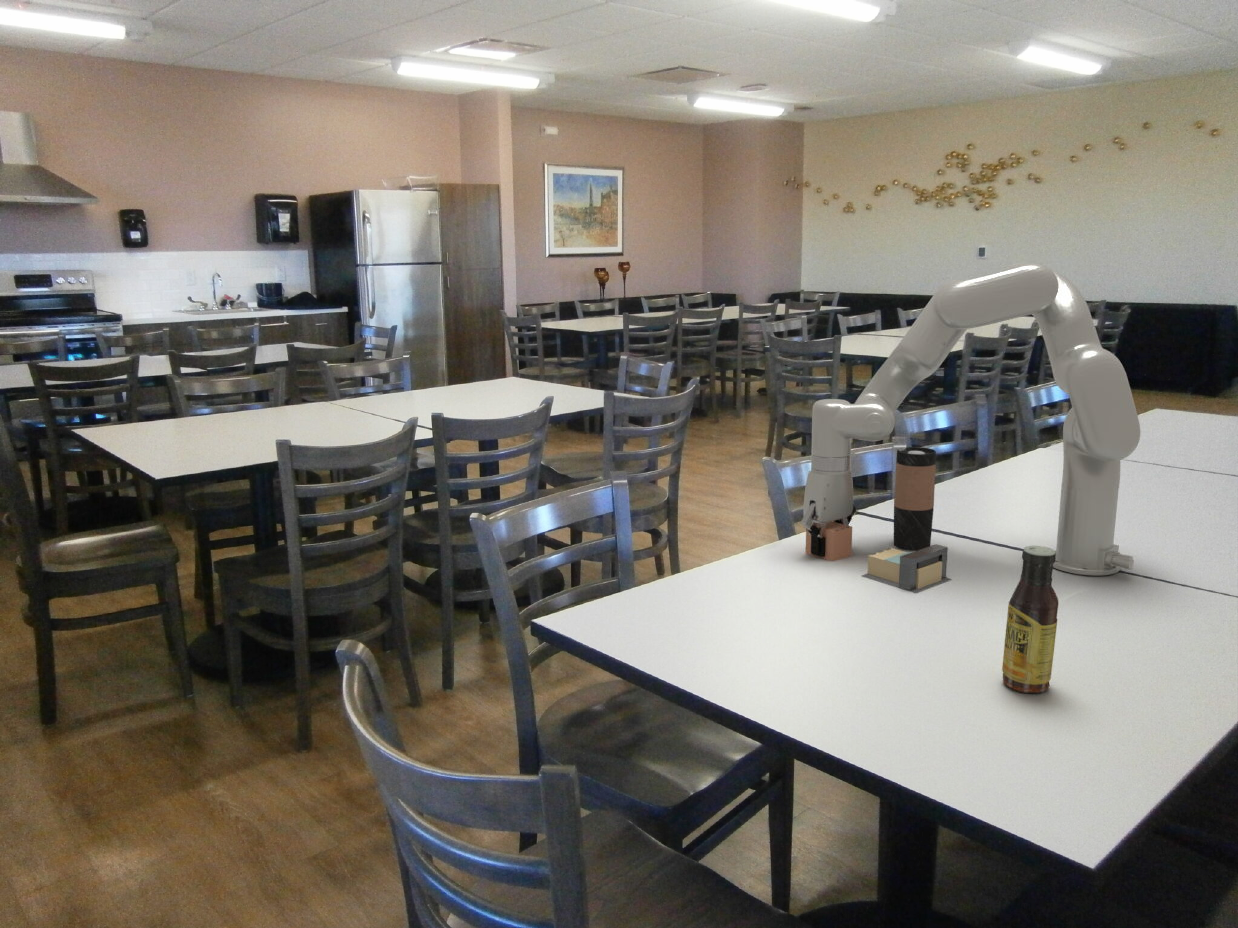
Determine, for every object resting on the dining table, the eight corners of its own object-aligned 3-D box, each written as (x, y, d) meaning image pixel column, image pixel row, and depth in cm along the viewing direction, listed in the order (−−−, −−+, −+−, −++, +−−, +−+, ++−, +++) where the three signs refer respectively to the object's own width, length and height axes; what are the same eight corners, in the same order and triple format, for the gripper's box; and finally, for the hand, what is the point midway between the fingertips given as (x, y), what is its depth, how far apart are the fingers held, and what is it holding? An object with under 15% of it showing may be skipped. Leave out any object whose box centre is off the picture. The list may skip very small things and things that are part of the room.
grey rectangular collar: (946, 577, 172) (947, 547, 171) (910, 590, 166) (911, 559, 165) (934, 574, 174) (936, 544, 173) (898, 587, 168) (900, 556, 167)
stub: (851, 555, 186) (852, 526, 185) (833, 561, 183) (833, 531, 181) (823, 547, 191) (824, 518, 190) (805, 553, 188) (806, 523, 187)
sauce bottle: (993, 677, 133) (1002, 542, 129) (1035, 674, 133) (1046, 540, 129) (1016, 698, 127) (1026, 557, 122) (1060, 695, 127) (1072, 555, 123)
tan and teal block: (941, 580, 171) (942, 561, 170) (918, 588, 167) (918, 569, 166) (890, 565, 180) (891, 547, 179) (867, 573, 175) (868, 555, 175)
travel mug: (933, 553, 187) (938, 455, 183) (893, 551, 189) (898, 454, 184) (929, 541, 194) (934, 447, 190) (890, 540, 196) (894, 446, 192)
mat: (952, 580, 172) (952, 579, 171) (915, 594, 165) (915, 593, 165) (897, 564, 181) (897, 563, 181) (860, 577, 174) (860, 575, 174)
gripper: (844, 453, 191) (841, 539, 195) (786, 466, 181) (784, 556, 185) (874, 459, 185) (871, 547, 189) (816, 473, 175) (814, 565, 179)
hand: (828, 551), depth 187 cm, fingers closed on stub, 5 cm apart
